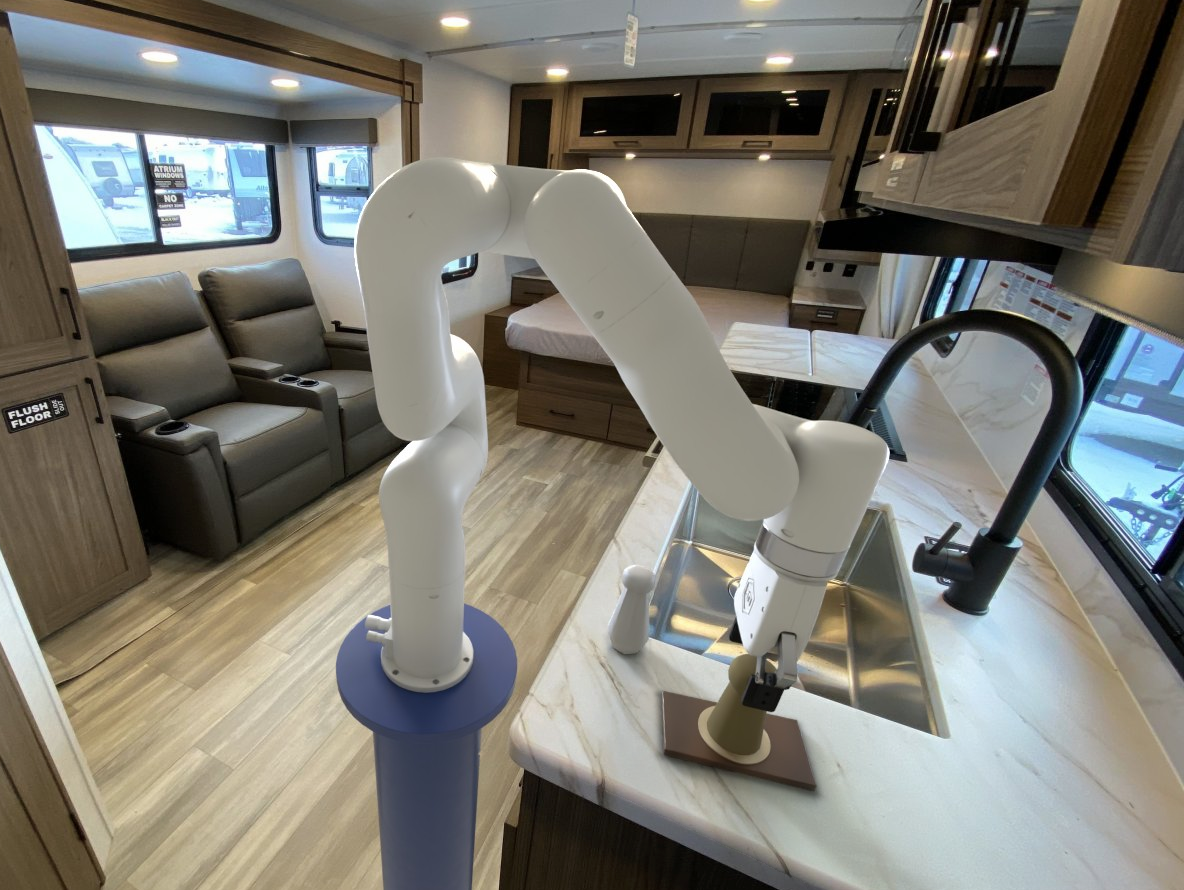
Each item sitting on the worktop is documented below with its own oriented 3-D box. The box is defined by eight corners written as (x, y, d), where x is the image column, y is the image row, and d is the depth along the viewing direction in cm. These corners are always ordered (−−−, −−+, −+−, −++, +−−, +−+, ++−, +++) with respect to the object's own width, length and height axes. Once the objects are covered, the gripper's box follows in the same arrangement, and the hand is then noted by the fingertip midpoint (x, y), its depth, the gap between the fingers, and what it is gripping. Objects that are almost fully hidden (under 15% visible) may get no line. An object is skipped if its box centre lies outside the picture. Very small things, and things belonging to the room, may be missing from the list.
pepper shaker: (724, 758, 65) (749, 689, 60) (697, 714, 70) (718, 648, 65) (772, 752, 66) (800, 683, 61) (742, 709, 71) (766, 643, 66)
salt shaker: (650, 640, 83) (668, 567, 77) (639, 665, 79) (657, 590, 73) (612, 625, 86) (625, 553, 80) (599, 648, 82) (612, 575, 76)
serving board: (663, 754, 67) (665, 748, 66) (660, 695, 74) (662, 688, 74) (814, 791, 63) (817, 784, 63) (795, 725, 71) (798, 718, 70)
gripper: (744, 497, 64) (706, 615, 72) (776, 592, 49) (723, 727, 57) (817, 510, 62) (770, 628, 71) (873, 612, 48) (805, 747, 56)
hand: (749, 672), depth 64 cm, fingers open, 9 cm apart
